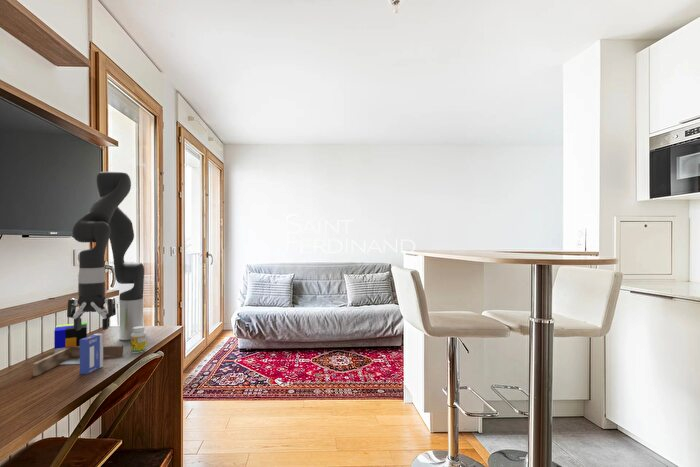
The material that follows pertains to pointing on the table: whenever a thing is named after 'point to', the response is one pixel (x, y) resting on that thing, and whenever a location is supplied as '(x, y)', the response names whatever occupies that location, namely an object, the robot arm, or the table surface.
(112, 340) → the table surface
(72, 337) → the puzzle toy
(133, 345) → the supplement bottle
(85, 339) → the walkman
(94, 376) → the table surface
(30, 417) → the table surface
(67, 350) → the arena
